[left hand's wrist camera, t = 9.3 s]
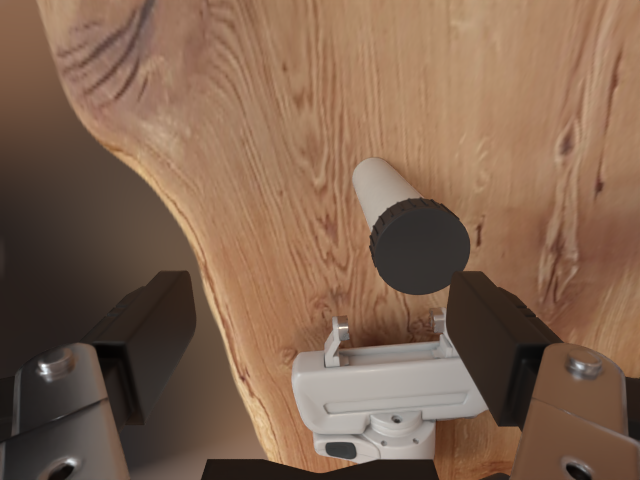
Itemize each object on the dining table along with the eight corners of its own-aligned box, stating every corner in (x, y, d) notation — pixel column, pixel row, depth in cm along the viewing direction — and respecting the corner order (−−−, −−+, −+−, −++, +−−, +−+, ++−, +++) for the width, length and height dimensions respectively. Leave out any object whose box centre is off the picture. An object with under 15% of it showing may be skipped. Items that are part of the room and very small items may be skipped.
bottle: (345, 168, 35) (368, 233, 18) (384, 150, 34) (444, 199, 18) (362, 205, 36) (398, 296, 20) (399, 187, 36) (470, 266, 19)
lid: (354, 220, 20) (357, 232, 18) (441, 180, 19) (453, 189, 17) (388, 291, 21) (394, 310, 19) (469, 258, 20) (484, 273, 19)
